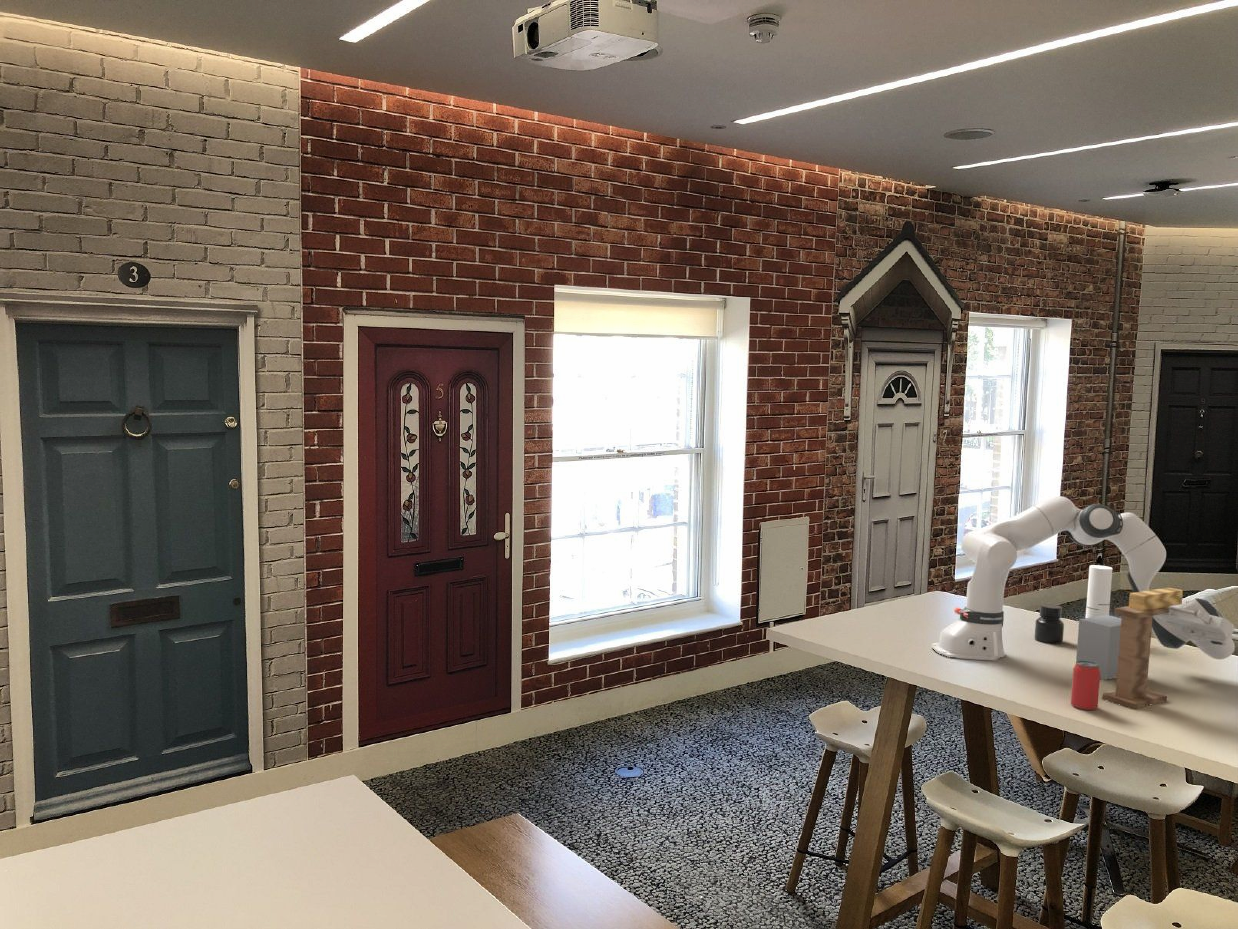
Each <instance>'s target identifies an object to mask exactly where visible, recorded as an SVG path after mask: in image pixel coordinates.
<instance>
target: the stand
mask: <svg viewBox="0 0 1238 929" xmlns="http://www.w3.org/2000/svg"><path fill="white" fill-rule="evenodd" d="M1166 613H1169V608H1168V607H1162V608H1156V609H1150V610H1144V611H1142V610H1138V609H1133V608H1129V605H1128V606H1121V607H1120V606H1119V607H1116V608H1114V612H1113V614H1114V615H1118V616H1121V617H1120V618H1121V631H1120V644H1119V656H1118V669H1117V678H1116V681H1115V682H1116V683H1115V690H1114V691H1110V692H1106V693H1102V697H1101V700H1102V699H1103V700H1102V701H1106V700H1108V701H1107V702H1109V701H1110V703H1112V702H1113V704H1117V705H1118V704H1120V705H1119V706H1122V707H1125V708H1128V707H1130V708H1129V709H1131V708H1132V710H1136V709H1139V708H1138V707H1140V708H1144V707H1148V706H1151V705H1150V704H1152V705H1156V704H1160V703H1164V702H1167V701H1168V695H1166V694H1163V693H1160V692H1156V691H1154V690H1150V689H1148V678H1149V675H1148V674H1149V667H1150V666H1149V664H1150V653H1151V643H1152V642H1151V640H1152V632H1153V629H1152V619H1153V616H1154V615H1160V614H1166ZM1166 700H1167V701H1166ZM1163 701H1164V702H1163ZM1147 705H1148V706H1147ZM1135 708H1136V709H1135Z"/></svg>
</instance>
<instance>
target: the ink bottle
mask: <svg viewBox="0 0 1238 929" xmlns="http://www.w3.org/2000/svg"><path fill="white" fill-rule="evenodd" d="M1062 610H1063V607H1062V606H1060V605H1059V604H1052V603H1050V604H1049V603H1042V604H1039V617H1038V618H1037V619H1036V620H1035V625H1034V640H1036V641H1038V642H1041V641H1042V643H1045V644H1062V643H1063V642H1064V633H1065V623H1064V621H1063V620H1061V618H1062V612H1063V611H1062Z"/></svg>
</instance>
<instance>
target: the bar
mask: <svg viewBox="0 0 1238 929" xmlns="http://www.w3.org/2000/svg"><path fill="white" fill-rule="evenodd" d="M1183 591H1184V590H1183V589H1178V588H1173V587H1165V588H1163V587H1162V588H1157V589H1149V590H1148V591H1141V592H1135V593H1134V592H1129V598H1128V606H1129V608H1133V609H1138V610H1142V611H1144V610H1150V609H1156V608H1162V607H1168V606H1172V607H1175V606H1182V605H1183V596H1184V594H1183V593H1184V592H1183Z"/></svg>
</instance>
